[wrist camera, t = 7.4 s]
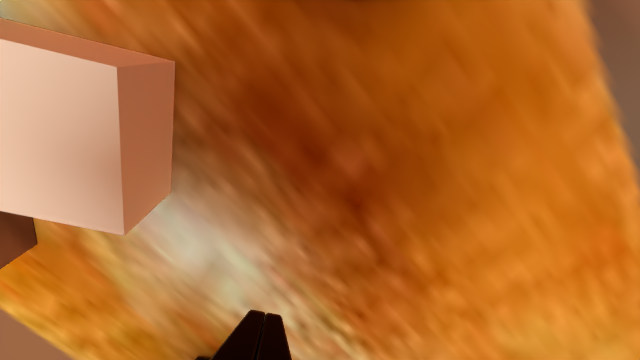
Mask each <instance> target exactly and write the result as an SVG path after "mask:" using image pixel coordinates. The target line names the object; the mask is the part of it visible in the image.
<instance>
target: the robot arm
mask: <svg viewBox="0 0 640 360" xmlns="http://www.w3.org/2000/svg"><path fill="white" fill-rule="evenodd" d="M264 318H265V319H264ZM261 331H262V332H261ZM195 360H292V358H291V354H290V350H289V346H288V342H287V337H286V333H285V329H284V325H283V321H282V317H281V316H280V315H278V314H272V313H267V314H266V315H265V313H264V312H262V311H257V310H250V311H249V312H248V313H247V314H246V316H245V317H244V318H243V319H242V320H241V322H240V323H239V324H238V325H237V327H236V328H235V329H234V330H233V332H232V333H231V334H230V335H229V337H228V338H227V339H226V340H225V341H224V343H223V344H222V345H221V346H220V348H219V349H218V350H217V351H216V353H215V354H214V355H213V356H212V357H211V359H204V358H197V359H195Z"/></svg>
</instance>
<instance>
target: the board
mask: <svg viewBox="0 0 640 360" xmlns="http://www.w3.org/2000/svg"><path fill="white" fill-rule="evenodd" d="M36 244H37V241H36V235H35V230H34V224H33V219H32V217H28V216H23V215H18V214H13V213H9V212H4V211H0V269H1V268H2V267H4V266H5V265H7V264H8V263H10V262H11V261H13V260H14V259H16V258H17V257H19V256H20V255H22V254H23V253H25V252H26V251H28V250H29V249H31V248H32V247H33V246H35V245H36Z"/></svg>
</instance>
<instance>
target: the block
mask: <svg viewBox="0 0 640 360" xmlns="http://www.w3.org/2000/svg"><path fill="white" fill-rule="evenodd" d="M174 82H175V61H172V60H168V59H164V58H160V57H156V56H152V55H148V54H144V53H140V52H136V51H132V50H128V49H124V48H120V47H116V46H112V45H108V44H104V43H100V42H96V41H92V40H88V39H84V38H80V37H76V36H72V35H68V34H64V33H60V32H56V31H51V30H47V29H43V28H39V27H35V26H31V25H27V24H23V23H19V22H15V21H11V20H7V19H3V18H0V211H4V212H9V213H13V214H18V215H23V216H28V217H33V218H38V219H43V220H48V221H53V222H58V223H63V224H68V225H73V226H78V227H83V228H88V229H93V230H98V231H103V232H108V233H113V234H118V235H122V236H125V235H126V234H127V233H128V232H129V231H130V230H131V229H132V228H133V227H134V226H135V225H136V224H138V223H139V222H140V221H141V220H142V219H143V218H144V217H145V216H146V215H147V214H148V213H149V212H150V211H151V210H152V209H154V208H155V207H156V206H157V205H158V204H159V203H160V202H161V201H162V200H163V199H164V198H165V197H166V196H167V195H169V194H170V193H171V172H172V142H173V112H174Z"/></svg>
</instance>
